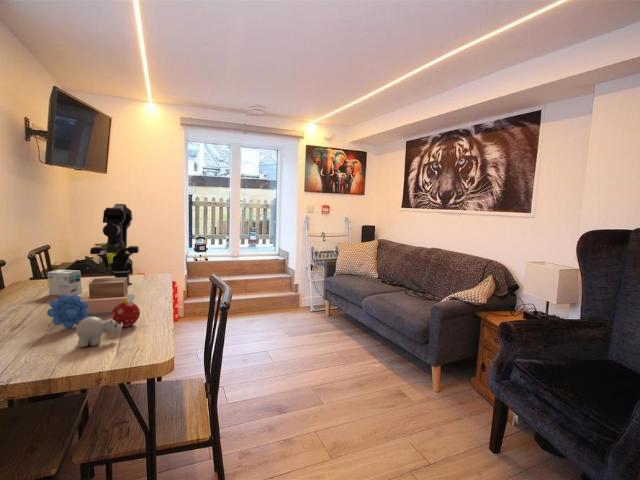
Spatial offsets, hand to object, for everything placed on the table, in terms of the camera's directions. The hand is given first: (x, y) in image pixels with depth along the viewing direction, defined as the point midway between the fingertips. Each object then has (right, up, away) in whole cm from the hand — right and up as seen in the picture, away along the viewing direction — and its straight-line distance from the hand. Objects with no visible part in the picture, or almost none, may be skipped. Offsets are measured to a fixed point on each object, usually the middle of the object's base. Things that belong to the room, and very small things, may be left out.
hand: (116, 268), depth 155 cm
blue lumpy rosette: (+10, -17, -42) cm, 47 cm away
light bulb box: (-22, -12, -2) cm, 25 cm away
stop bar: (+12, -15, -27) cm, 33 cm away
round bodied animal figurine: (+27, -19, -52) cm, 62 cm away
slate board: (+8, -14, -17) cm, 24 cm away
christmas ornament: (+27, -17, -38) cm, 50 cm away
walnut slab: (+7, -11, -16) cm, 20 cm away
